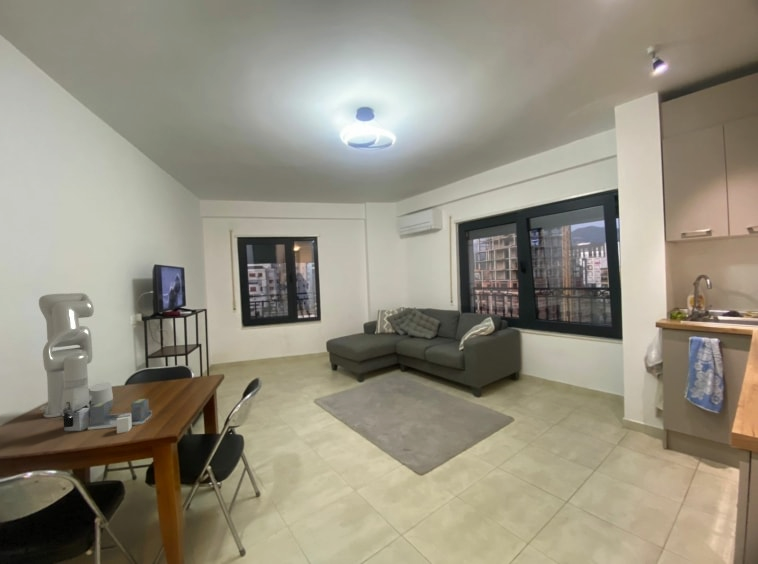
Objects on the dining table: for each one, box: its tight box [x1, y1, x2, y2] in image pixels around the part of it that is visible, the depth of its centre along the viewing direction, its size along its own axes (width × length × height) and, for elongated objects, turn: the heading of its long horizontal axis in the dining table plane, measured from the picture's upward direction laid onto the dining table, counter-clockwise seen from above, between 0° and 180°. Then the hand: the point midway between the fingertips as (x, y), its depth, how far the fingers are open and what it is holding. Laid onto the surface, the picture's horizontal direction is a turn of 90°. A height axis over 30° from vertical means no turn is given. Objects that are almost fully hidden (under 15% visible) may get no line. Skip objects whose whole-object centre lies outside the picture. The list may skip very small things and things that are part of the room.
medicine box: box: [63, 408, 91, 432], centre depth 138 cm, size 8×4×9 cm, turn 84°
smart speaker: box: [88, 381, 114, 411], centre depth 156 cm, size 10×9×14 cm
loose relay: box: [116, 414, 133, 434], centre depth 135 cm, size 4×5×6 cm
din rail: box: [87, 398, 153, 431], centre depth 143 cm, size 21×9×10 cm, turn 101°
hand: (77, 421), depth 138 cm, fingers open, 9 cm apart
